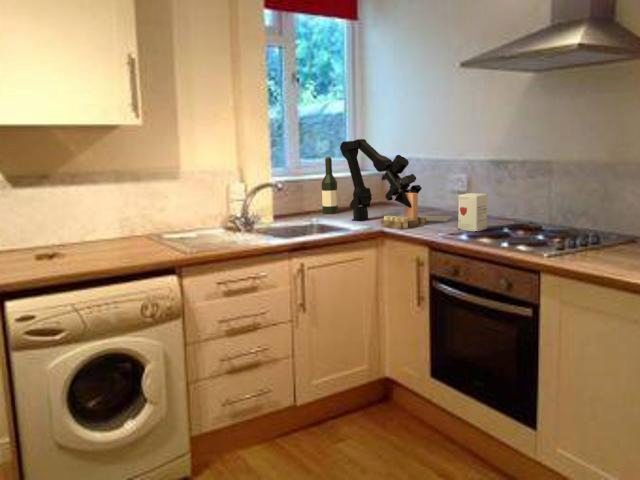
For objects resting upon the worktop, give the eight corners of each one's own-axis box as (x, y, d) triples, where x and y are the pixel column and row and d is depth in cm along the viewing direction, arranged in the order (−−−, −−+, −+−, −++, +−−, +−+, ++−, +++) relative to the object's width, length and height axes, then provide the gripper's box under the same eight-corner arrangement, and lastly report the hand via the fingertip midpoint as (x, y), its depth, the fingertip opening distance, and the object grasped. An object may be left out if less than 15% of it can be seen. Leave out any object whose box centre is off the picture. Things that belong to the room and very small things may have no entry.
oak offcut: (394, 227, 264) (394, 217, 263) (399, 226, 266) (399, 216, 265) (403, 228, 260) (403, 218, 259) (408, 228, 262) (407, 217, 261)
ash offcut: (384, 226, 269) (384, 216, 268) (389, 225, 271) (388, 215, 270) (392, 227, 265) (392, 217, 264) (397, 226, 267) (397, 216, 266)
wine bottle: (321, 212, 330) (319, 157, 325) (337, 211, 331) (335, 156, 325) (323, 214, 322) (321, 157, 316) (339, 213, 323) (337, 156, 317)
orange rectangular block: (405, 219, 272) (404, 193, 270) (409, 219, 274) (409, 192, 272) (413, 220, 268) (413, 193, 266) (417, 220, 270) (417, 193, 268)
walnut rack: (381, 229, 268) (381, 220, 268) (406, 224, 278) (406, 215, 277) (401, 231, 259) (401, 222, 258) (426, 226, 269) (426, 217, 268)
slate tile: (403, 223, 282) (403, 220, 282) (410, 218, 294) (410, 215, 294) (446, 224, 274) (446, 220, 274) (452, 219, 287) (452, 216, 286)
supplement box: (457, 230, 258) (457, 195, 255) (468, 227, 264) (468, 192, 261) (476, 231, 251) (476, 195, 249) (487, 228, 258) (487, 193, 255)
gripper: (389, 170, 264) (408, 196, 258) (418, 167, 276) (437, 192, 269) (377, 187, 272) (395, 213, 265) (405, 183, 283) (424, 208, 277)
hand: (413, 206), depth 269 cm, fingers closed on orange rectangular block, 3 cm apart
